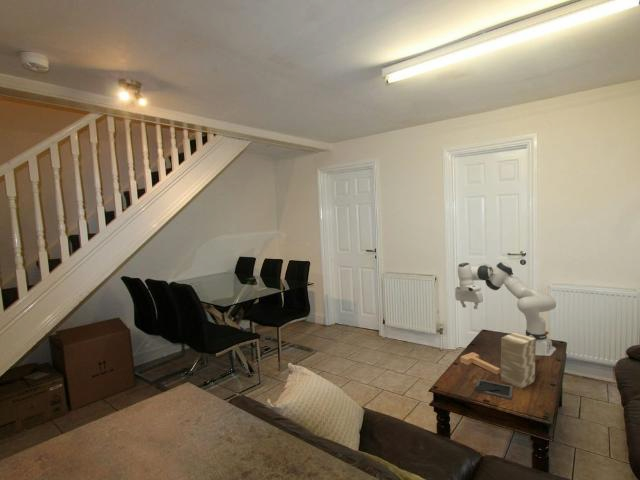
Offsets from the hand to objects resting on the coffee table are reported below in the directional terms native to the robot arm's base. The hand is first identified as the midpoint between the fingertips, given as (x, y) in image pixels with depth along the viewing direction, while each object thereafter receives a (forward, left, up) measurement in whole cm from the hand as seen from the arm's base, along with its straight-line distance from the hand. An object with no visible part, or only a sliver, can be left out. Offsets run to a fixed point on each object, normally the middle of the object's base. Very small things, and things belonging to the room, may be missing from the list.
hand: (469, 308), depth 231 cm
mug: (-9, +36, -35) cm, 51 cm away
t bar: (+5, +12, -31) cm, 34 cm away
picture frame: (+24, +32, -35) cm, 53 cm away
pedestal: (+5, +35, -34) cm, 49 cm away
